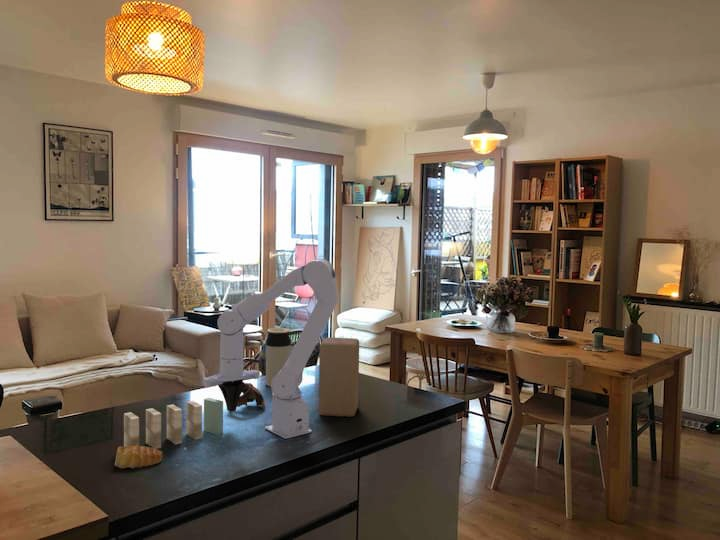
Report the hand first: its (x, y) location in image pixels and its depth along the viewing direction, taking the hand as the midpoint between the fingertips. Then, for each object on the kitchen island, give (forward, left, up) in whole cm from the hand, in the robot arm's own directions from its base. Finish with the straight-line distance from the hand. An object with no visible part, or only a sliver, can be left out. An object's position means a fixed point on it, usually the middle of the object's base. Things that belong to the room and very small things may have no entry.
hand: (231, 410), depth 148 cm
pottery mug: (+12, -12, -5) cm, 17 cm away
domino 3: (0, +15, -4) cm, 16 cm away
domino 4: (0, +10, -4) cm, 11 cm away
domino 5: (0, +5, -4) cm, 7 cm away
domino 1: (0, +25, -4) cm, 25 cm away
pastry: (-7, +27, -5) cm, 28 cm away
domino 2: (0, +20, -4) cm, 20 cm away
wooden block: (-6, -30, -5) cm, 31 cm away
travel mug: (+28, -32, -5) cm, 43 cm away
